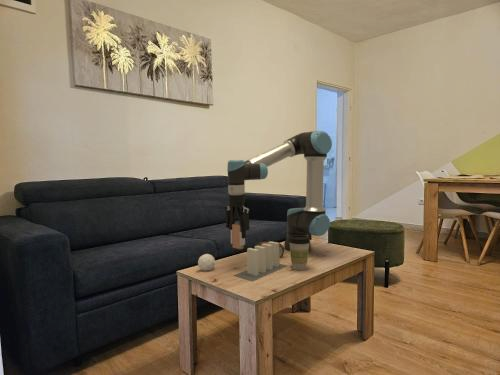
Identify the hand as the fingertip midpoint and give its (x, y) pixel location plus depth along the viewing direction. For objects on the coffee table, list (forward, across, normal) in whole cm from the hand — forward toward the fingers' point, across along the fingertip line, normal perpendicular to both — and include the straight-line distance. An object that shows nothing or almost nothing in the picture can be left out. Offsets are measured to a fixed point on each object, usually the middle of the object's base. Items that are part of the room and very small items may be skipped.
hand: (237, 244), depth 154 cm
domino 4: (+11, +11, +7) cm, 17 cm away
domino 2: (+11, +11, -3) cm, 16 cm away
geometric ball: (+12, -10, -11) cm, 19 cm away
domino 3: (+11, +11, +2) cm, 16 cm away
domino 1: (+2, 0, 0) cm, 2 cm away
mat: (+12, +11, +3) cm, 17 cm away
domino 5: (+11, +11, +12) cm, 20 cm away
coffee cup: (+12, +22, +17) cm, 31 cm away
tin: (+12, +1, +22) cm, 25 cm away
